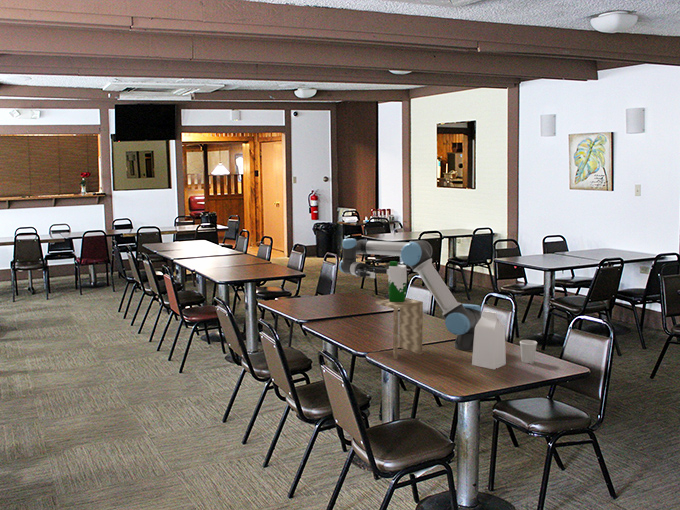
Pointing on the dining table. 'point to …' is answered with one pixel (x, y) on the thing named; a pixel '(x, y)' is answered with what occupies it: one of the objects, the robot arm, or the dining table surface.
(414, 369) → the dining table surface
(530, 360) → the dixie cup
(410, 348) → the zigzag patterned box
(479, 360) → the milk
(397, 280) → the soya milk
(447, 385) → the dining table surface
